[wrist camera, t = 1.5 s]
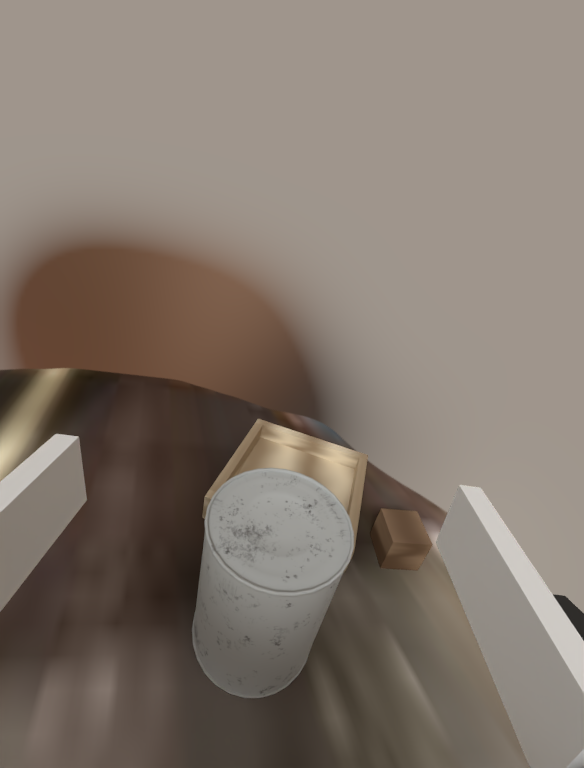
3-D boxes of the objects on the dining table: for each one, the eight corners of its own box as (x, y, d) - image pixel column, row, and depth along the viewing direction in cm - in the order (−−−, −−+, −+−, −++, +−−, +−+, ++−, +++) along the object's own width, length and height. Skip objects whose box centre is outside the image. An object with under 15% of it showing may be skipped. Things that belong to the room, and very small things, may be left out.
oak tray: (202, 517, 37) (204, 496, 35) (254, 436, 50) (258, 418, 48) (345, 572, 35) (354, 552, 33) (361, 472, 48) (367, 455, 46)
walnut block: (380, 568, 36) (393, 542, 34) (369, 534, 39) (381, 508, 37) (417, 570, 36) (432, 544, 35) (404, 536, 40) (417, 511, 38)
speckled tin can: (209, 560, 33) (223, 457, 27) (311, 577, 33) (347, 480, 28) (174, 688, 25) (183, 579, 19) (312, 708, 25) (363, 608, 19)
